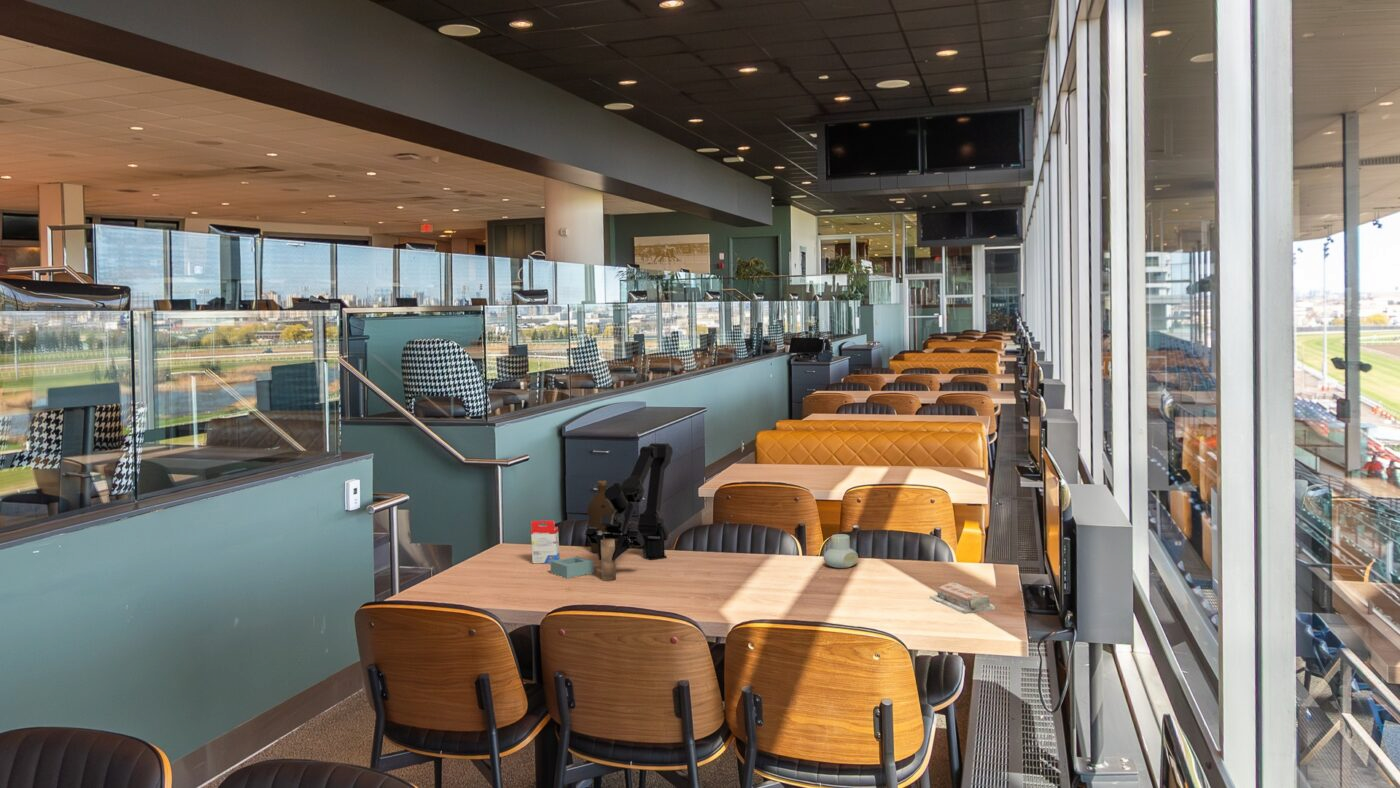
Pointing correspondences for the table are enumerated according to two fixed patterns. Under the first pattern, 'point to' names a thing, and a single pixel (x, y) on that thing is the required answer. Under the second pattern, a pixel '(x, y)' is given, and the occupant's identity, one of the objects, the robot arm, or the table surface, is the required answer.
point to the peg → (608, 560)
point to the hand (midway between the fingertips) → (606, 559)
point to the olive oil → (599, 511)
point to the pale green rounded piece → (840, 552)
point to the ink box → (544, 542)
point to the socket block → (572, 567)
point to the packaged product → (962, 598)
